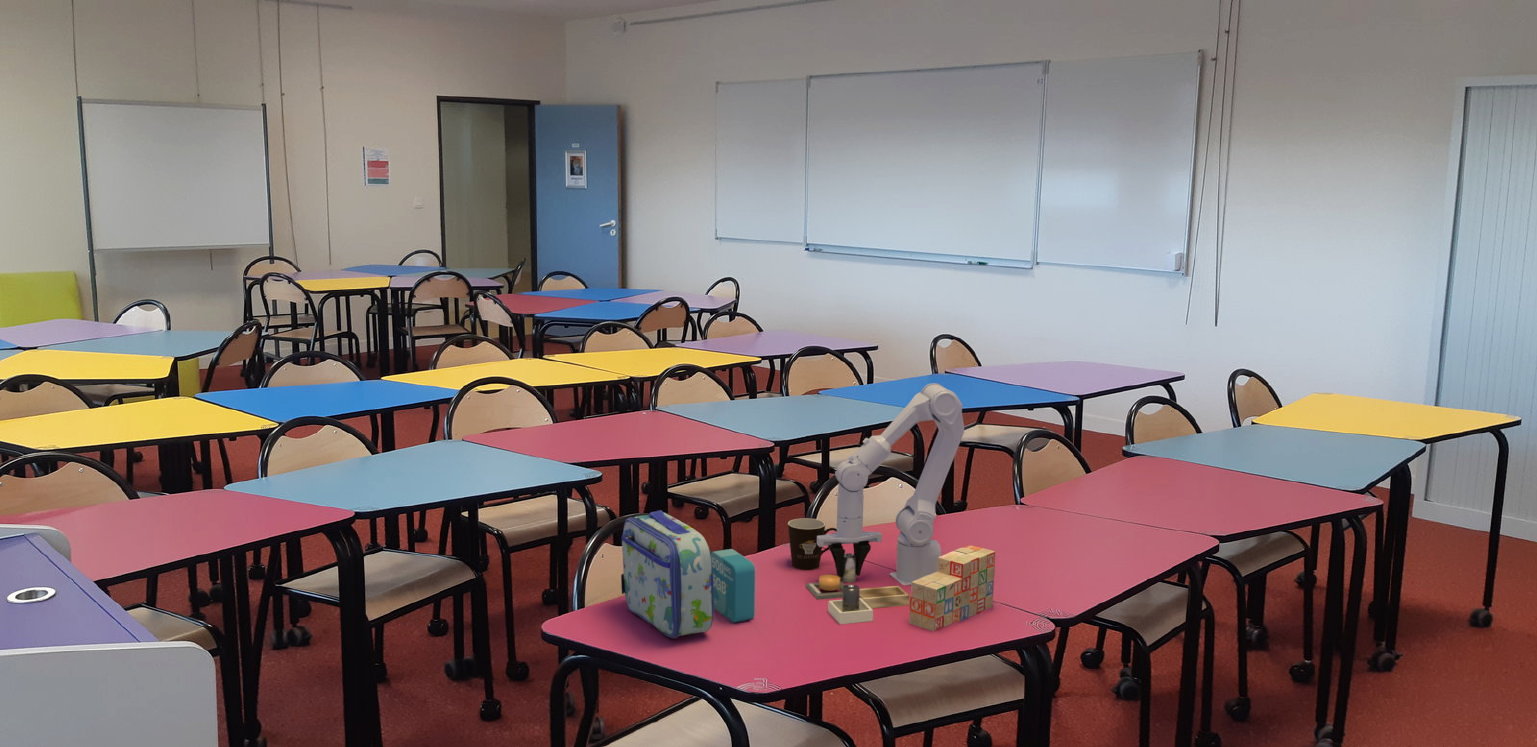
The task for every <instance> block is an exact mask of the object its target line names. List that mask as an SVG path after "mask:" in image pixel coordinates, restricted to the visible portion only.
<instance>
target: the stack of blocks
mask: <svg viewBox="0 0 1537 747" xmlns="http://www.w3.org/2000/svg"><path fill="white" fill-rule="evenodd" d="M995 564H996V551H995V550H991V549H987V548H983V547H979V546H975V545H972V544H970V545H966V546H963V547H959V548H957V549H955V550H952V551H950V552H947V553H945V554H943V555H941V556H940V557H938V566H937V572H935V573H933V574H930V575H927V576H925V577H922V578H920V579H918V580H915V581H913V582H912V583H911V586H910V587H911V588H910V596H909V625H910V624H911V625H913V626H917V627H919V628H921V629H922V628H923V629H926V630H928V631H932V632H936V631H937V630H940V629H942V628H945V627H948V626H949V625H951V624H953V623H955V622H958V623H960V622H963V621H965V620H967V619H968V618H970V617H973V616H975V615H977V614H980V613H982V612H985V611H986V610H988V609H990V608H992V607H993V606H994V603H993V602H994V585H995V584H994V583H995V582H994V581H995V575H996V574H995V568H996V566H995Z"/></svg>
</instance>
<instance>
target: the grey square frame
mask: <svg viewBox="0 0 1537 747" xmlns="http://www.w3.org/2000/svg"><path fill="white" fill-rule="evenodd" d="M845 585H846V584H845V582H842V581H841V580H840V588H839V589H838V590H839V591H837V592H821V591H820V590H819V589H820V588H819V581H818V582H809V583H805V587H806V589H807V590H808V591H809V592H810V593H811V594H812V596H813V597H814V598H815V599H816V600H830V599H840V598H842V595H843V586H845Z"/></svg>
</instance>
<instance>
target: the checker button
mask: <svg viewBox="0 0 1537 747" xmlns="http://www.w3.org/2000/svg"><path fill="white" fill-rule="evenodd" d="M840 581H841V577H839V576H838V575H837V574H836V575H835V574H821V575H820V576H819V578H818V582H819V588H818V589H821V590H824V591H829V592H830V591H837V590H840V589H839V588H840Z"/></svg>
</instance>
